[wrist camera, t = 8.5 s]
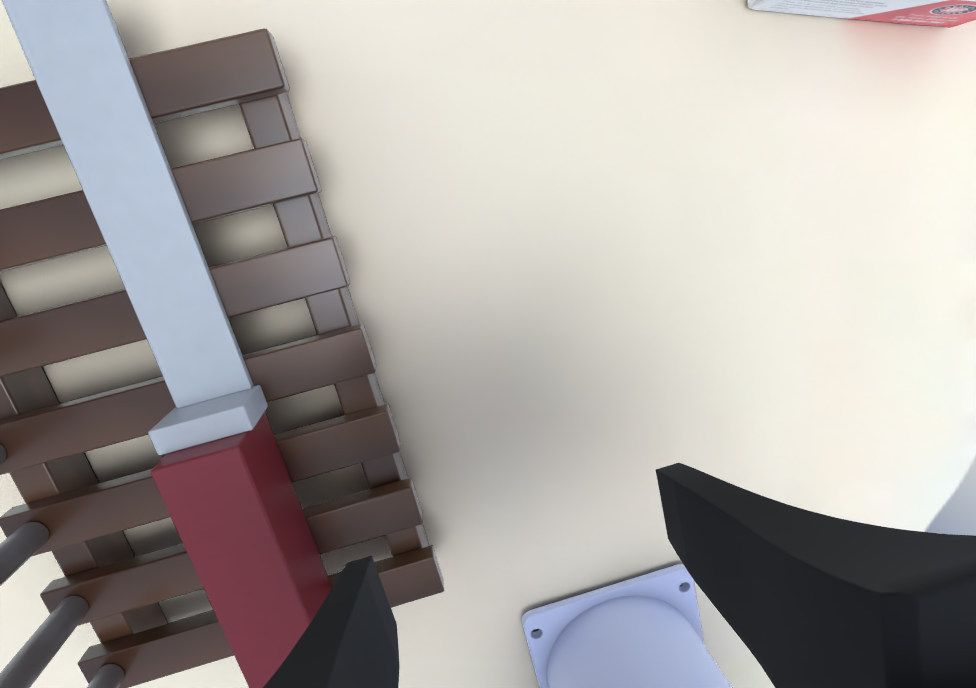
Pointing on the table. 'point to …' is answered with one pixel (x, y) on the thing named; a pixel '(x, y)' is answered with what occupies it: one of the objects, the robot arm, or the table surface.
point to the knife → (181, 343)
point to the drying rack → (139, 407)
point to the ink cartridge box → (879, 10)
